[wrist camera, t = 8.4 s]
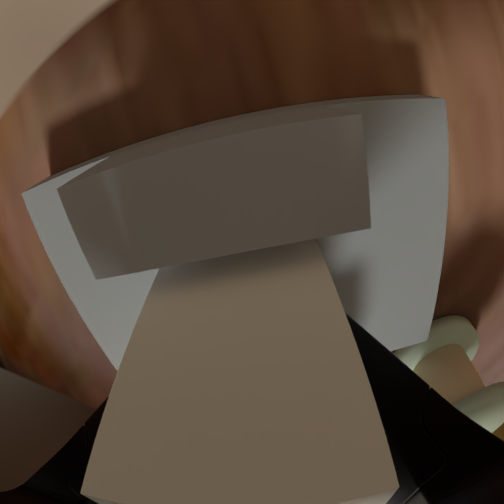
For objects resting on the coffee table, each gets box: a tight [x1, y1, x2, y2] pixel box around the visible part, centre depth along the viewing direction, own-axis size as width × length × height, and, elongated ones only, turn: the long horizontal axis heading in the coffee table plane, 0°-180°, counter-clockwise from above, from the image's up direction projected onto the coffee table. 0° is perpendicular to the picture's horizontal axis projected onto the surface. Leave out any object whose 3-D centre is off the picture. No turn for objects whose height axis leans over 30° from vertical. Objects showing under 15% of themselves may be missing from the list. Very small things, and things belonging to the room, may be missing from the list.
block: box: [80, 239, 399, 504], centre depth 6 cm, size 4×4×6 cm
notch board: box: [21, 94, 449, 371], centre depth 10 cm, size 14×10×5 cm
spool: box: [393, 315, 504, 433], centre depth 13 cm, size 6×6×6 cm
